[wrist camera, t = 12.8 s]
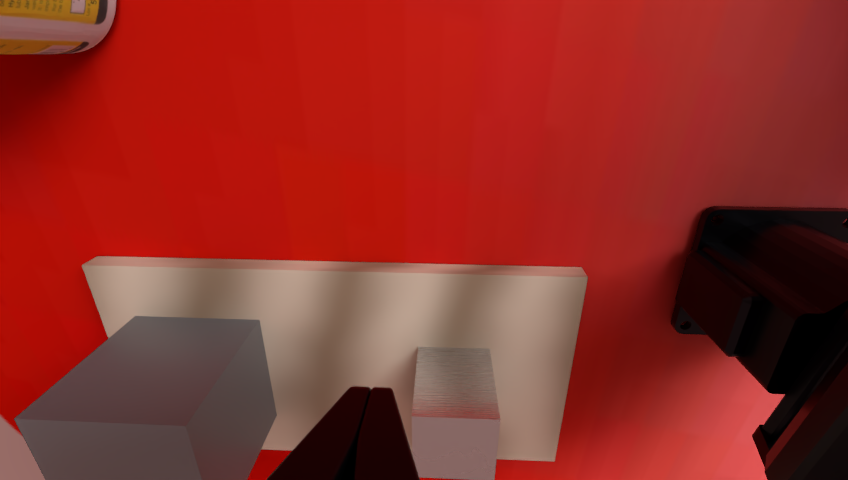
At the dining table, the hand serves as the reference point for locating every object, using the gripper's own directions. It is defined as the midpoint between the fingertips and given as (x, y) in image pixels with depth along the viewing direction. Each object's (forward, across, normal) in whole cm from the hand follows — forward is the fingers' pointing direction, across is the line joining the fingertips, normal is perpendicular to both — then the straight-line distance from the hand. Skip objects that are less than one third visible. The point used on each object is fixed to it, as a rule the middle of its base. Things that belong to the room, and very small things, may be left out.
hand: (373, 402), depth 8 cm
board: (+12, +4, +9) cm, 16 cm away
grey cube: (+12, -2, +9) cm, 15 cm away
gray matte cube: (+11, +11, +9) cm, 18 cm away
